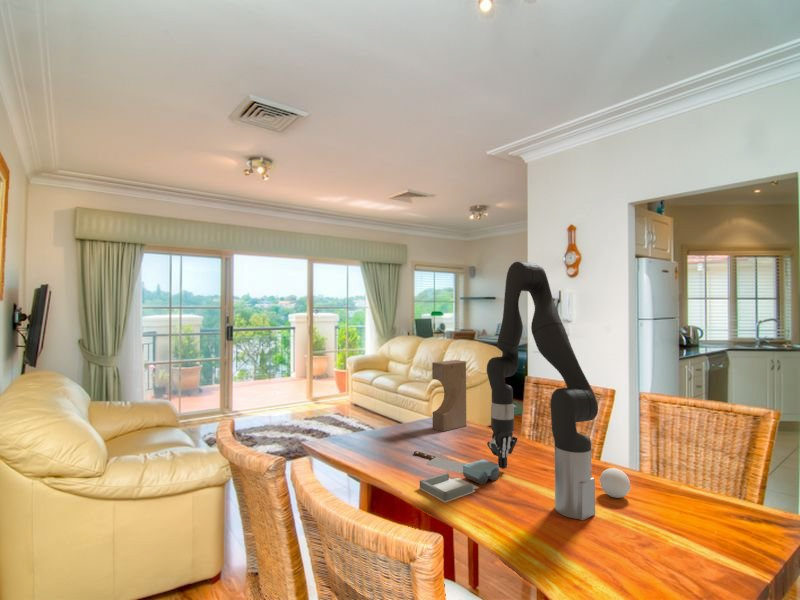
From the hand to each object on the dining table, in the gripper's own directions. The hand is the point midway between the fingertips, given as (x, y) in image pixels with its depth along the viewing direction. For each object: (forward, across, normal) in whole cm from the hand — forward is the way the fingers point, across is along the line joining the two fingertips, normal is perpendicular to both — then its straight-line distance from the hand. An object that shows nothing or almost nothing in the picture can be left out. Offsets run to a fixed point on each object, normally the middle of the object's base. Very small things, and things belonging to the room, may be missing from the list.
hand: (502, 467), depth 144 cm
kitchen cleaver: (+2, -12, +19) cm, 23 cm away
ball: (+2, +12, -32) cm, 34 cm away
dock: (+1, -23, 0) cm, 23 cm away
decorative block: (+2, +21, +50) cm, 55 cm away
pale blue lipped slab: (+1, -10, 0) cm, 10 cm away
